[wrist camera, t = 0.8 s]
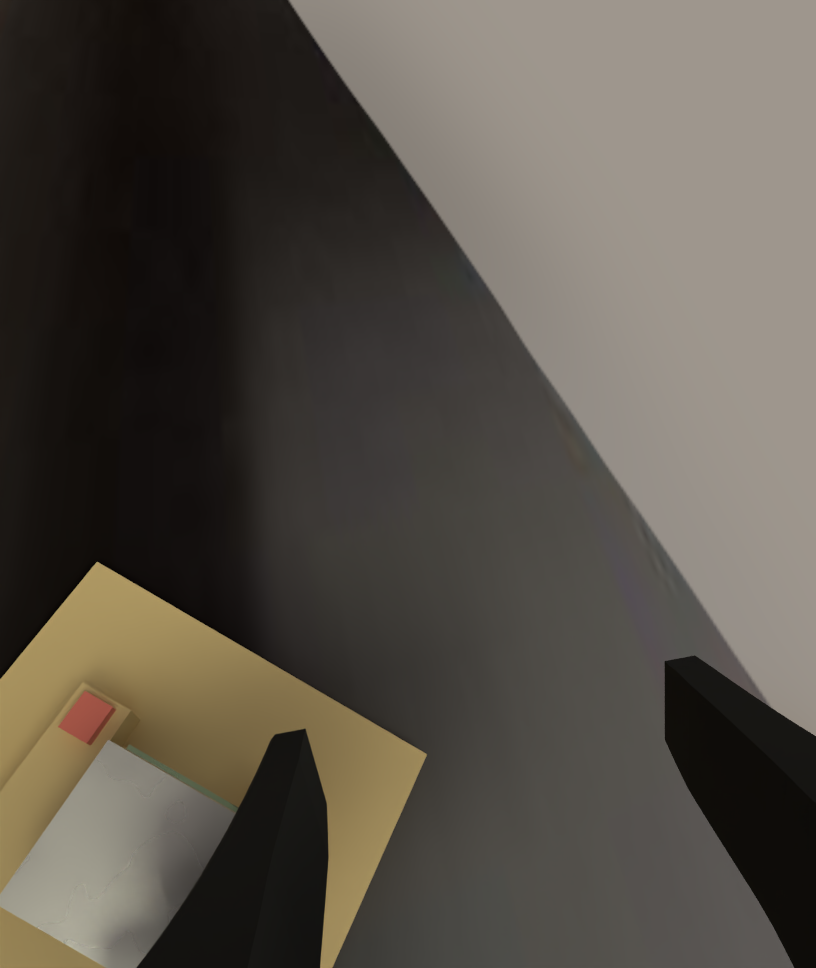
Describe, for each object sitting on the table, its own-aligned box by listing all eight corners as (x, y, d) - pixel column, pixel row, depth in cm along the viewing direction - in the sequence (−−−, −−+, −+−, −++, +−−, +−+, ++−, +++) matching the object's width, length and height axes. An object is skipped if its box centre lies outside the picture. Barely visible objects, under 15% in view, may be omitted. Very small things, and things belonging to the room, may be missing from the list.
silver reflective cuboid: (165, 940, 21) (145, 999, 15) (50, 874, 21) (-17, 906, 15) (240, 809, 23) (248, 813, 17) (135, 748, 23) (107, 731, 17)
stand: (221, 1193, 20) (223, 1304, 16) (-205, 948, 20) (-323, 991, 16) (418, 755, 27) (458, 748, 23) (101, 571, 27) (79, 527, 22)
